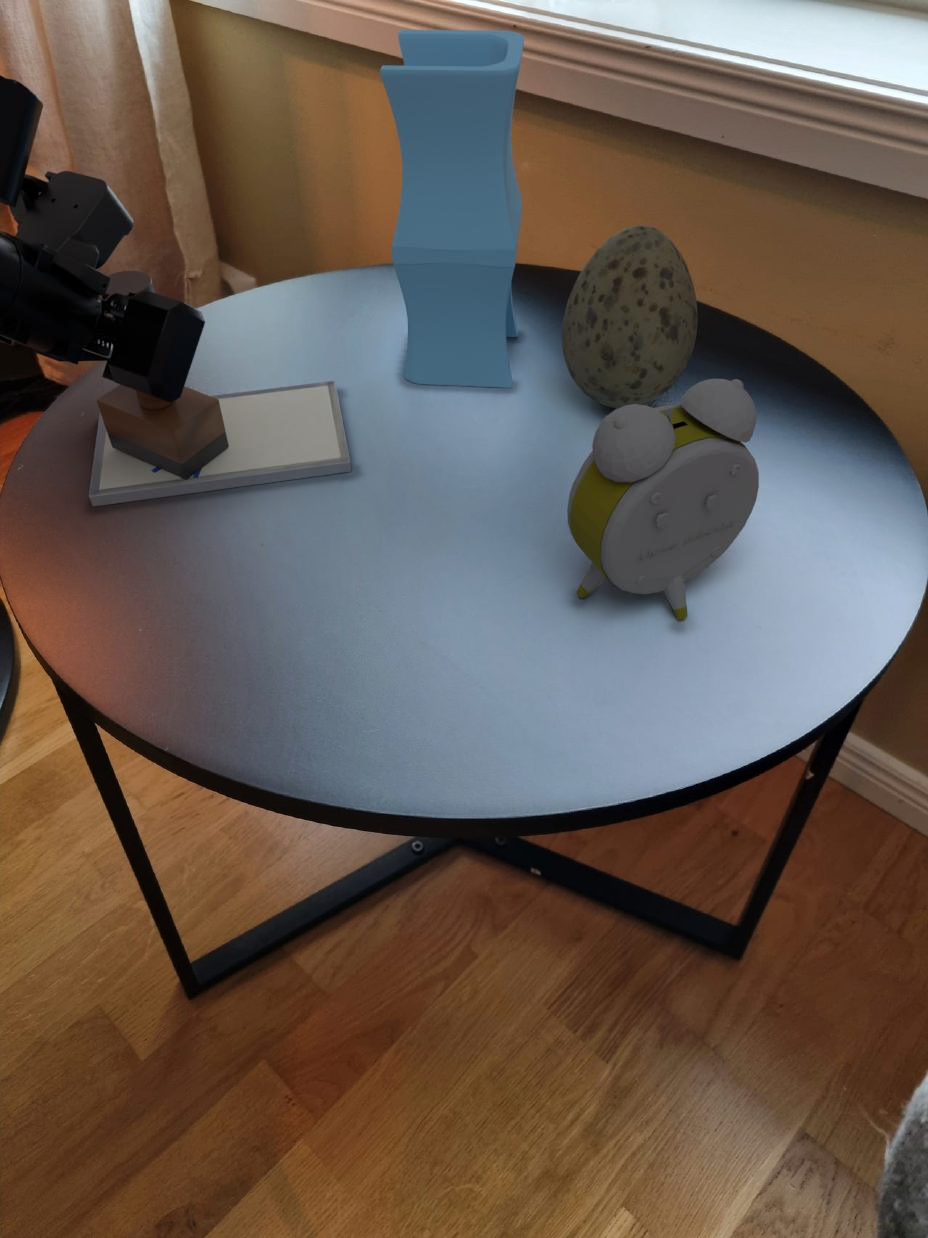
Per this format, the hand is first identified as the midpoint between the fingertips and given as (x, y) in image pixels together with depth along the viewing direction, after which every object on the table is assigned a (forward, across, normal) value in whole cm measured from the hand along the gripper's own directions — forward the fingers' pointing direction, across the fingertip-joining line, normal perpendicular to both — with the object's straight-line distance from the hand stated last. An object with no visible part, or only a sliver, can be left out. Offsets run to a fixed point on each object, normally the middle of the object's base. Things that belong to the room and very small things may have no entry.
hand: (161, 357), depth 69 cm
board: (+8, -2, +5) cm, 9 cm away
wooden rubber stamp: (+4, 0, +6) cm, 8 cm away
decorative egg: (+23, -28, -11) cm, 38 cm away
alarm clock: (+8, -40, +4) cm, 41 cm away
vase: (+23, -12, -10) cm, 28 cm away
